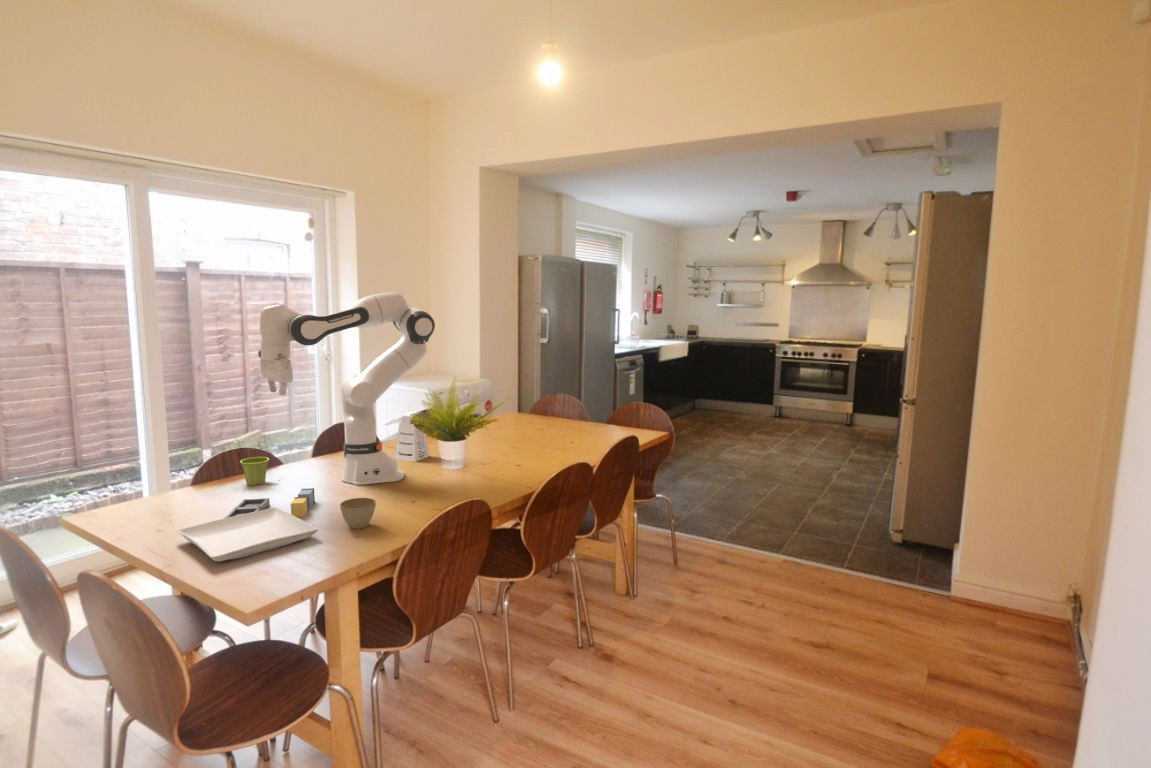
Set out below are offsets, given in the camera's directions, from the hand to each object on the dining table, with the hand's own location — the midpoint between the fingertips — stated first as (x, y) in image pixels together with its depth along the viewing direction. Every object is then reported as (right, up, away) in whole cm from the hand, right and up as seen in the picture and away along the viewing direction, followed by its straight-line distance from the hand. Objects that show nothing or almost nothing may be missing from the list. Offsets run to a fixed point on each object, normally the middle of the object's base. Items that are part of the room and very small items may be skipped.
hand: (277, 393), depth 204 cm
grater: (+31, -29, +55) cm, 70 cm away
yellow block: (+15, -38, -16) cm, 44 cm away
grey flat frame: (-1, -37, -18) cm, 41 cm away
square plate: (+11, -41, -38) cm, 57 cm away
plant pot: (-16, -33, +16) cm, 40 cm away
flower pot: (+37, -39, -26) cm, 60 cm away
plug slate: (+13, -36, -8) cm, 39 cm away
